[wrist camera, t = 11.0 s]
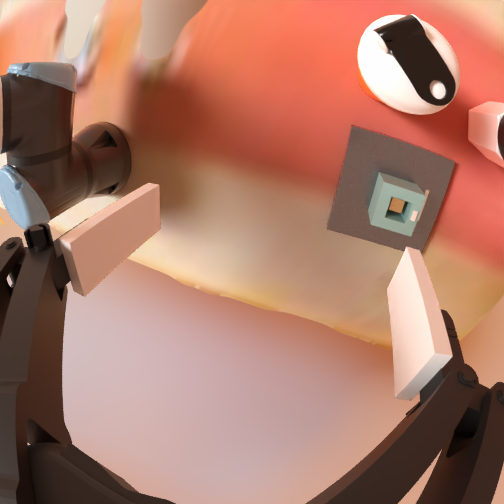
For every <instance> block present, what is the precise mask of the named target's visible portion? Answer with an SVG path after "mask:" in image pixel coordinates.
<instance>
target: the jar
mask: <svg viewBox="0 0 504 504" xmlns="http://www.w3.org/2000/svg"><path fill="white" fill-rule="evenodd" d="M468 140H469V141H470V142H471V143H472V144H473V145H474V146H475V147H476V148H477V149H478V150H479V151H480V152H481V153H482V154H483V155H484V156H485V157H486V158H487V159H489V160H491V161H492V162H494V163H496V164H498V165H499V166H501V167H503V168H504V103H500V102H492V101H488V102H486V103H483V104H481V105H479V106H477V107H474V108H472V109H470V110H469V118H468Z"/></svg>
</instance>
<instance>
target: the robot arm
mask: <svg viewBox="0 0 504 504" xmlns="http://www.w3.org/2000/svg"><path fill="white" fill-rule="evenodd" d="M7 73H8V74H7V75H2V76H0V154H2V153H5V152H6V153H7V165H4V166H3V167H2V168H1V169H0V196H1V199H2V201H3V203H4V206H5V208H6V210H7V211H8V213H9V214H10V216H11V217H12V219H13V220H14V221H15V222H16V223H17V224H18V225H19V226H20V227H21V228H23V229H25V232H24V235H25V239H26V241H27V245H28V247H24V246H23V243H22V239H21V238H20V237H13V238H9V239H8V240H7V241H5V242H4V243H3V244H2V245H1V246H0V504H175V503H173V502H171V501H168V500H166V499H161V498H156V497H153V496H148V495H145V494H141V493H139V492H138V491H136V490H135V489H134V488H133V487H132V486H131V485H129V484H128V483H127V482H126V481H125V480H124V479H123V478H121V477H120V476H118V475H116V474H115V473H113V472H111V471H110V470H108V469H107V468H105V467H104V466H102V465H101V464H100V463H98V462H97V461H95V460H94V459H92V458H91V457H89V456H88V455H86V454H85V453H83V452H82V451H81V450H79V449H78V448H77V447H75V446H74V445H73V444H72V441H71V437H70V435H69V432H68V430H67V428H66V426H65V422H64V414H63V397H62V352H63V351H62V350H63V333H64V320H65V310H66V301H67V293H68V290H67V286H66V284H67V283H68V282H70V281H71V284H72V287H73V290H74V291H75V292H77V293H79V294H81V295H82V296H86V295H87V294H88V293H89V292H90V291H91V290H92V289H94V288H95V287H96V286H97V285H98V284H99V283H100V282H101V281H102V280H103V279H104V278H105V277H106V276H107V275H108V274H110V273H111V272H112V271H113V270H114V269H115V268H116V267H117V266H118V265H119V264H120V263H122V262H123V261H124V260H125V259H126V258H127V257H128V256H130V255H131V254H132V253H133V252H134V251H135V250H136V249H138V248H139V247H140V246H141V245H142V244H143V243H145V242H146V241H147V240H148V239H149V238H150V237H152V236H153V235H154V234H155V233H156V232H157V231H159V230H160V229H161V222H160V185H158V184H153V183H147V184H145V185H143V186H142V187H140V188H138V189H136V190H135V191H133V192H131V193H129V194H128V195H126V196H124V197H122V198H121V199H119V200H117V201H116V202H114V203H112V204H111V205H109V206H108V207H106V208H104V209H103V210H101V211H100V212H98V213H96V214H95V215H93V216H92V217H90V218H88V219H86V220H84V221H83V222H81V223H80V224H79V225H77V226H75V227H74V228H73V229H71V230H69V231H68V232H66V233H65V234H63V235H62V236H61V237H59V238H58V239H56V240H55V241H53V239H52V235H51V231H50V227H49V225H48V224H47V223H49V221H50V220H52V219H53V218H55V217H56V216H58V215H59V214H61V213H63V212H64V211H66V210H68V209H69V208H71V207H73V206H74V205H76V204H78V203H79V202H81V201H83V200H84V199H86V198H94V197H103V196H108V195H111V194H113V193H115V192H117V191H119V190H120V189H121V188H122V187H123V186H124V185H125V184H126V182H127V180H128V178H129V174H130V169H131V156H130V151H129V147H128V144H127V142H126V140H125V138H124V136H123V134H122V133H121V132H120V131H119V130H118V129H117V128H116V127H115V126H113V125H112V124H110V123H106V122H99V123H95V124H91V125H89V126H87V127H85V128H84V129H83V130H81V131H80V132H79V133H77V134H76V135H75V136H74V137H73V138H72V131H73V116H74V104H75V95H76V94H77V90H76V80H77V70H76V68H75V67H74V66H73V65H71V64H67V63H56V62H31V63H15V64H11V65H10V66H9V69H8V70H7ZM8 275H9V276H10V278H11V280H12V283H13V284H12V285H11V287H10V286H9V284H8V282H7V276H8ZM387 297H388V305H389V313H390V323H391V334H392V347H393V362H394V398H397V399H404V400H412V399H413V398H414V397H415V396H416V395H417V394H418V393H419V392H420V402H418V404H416V405H415V406H414V407H413V408H412V409H411V410H410V411H408V412H407V413H406V415H407V416H406V417H405V418H404V419H403V420H402V421H401V422H400V423H399V424H398V425H397V427H396V428H395V429H394V430H393V431H392V432H391V433H390V434H389V435H388V436H387V437H386V438H385V439H384V440H383V441H382V442H381V443H380V444H379V445H378V446H377V447H376V448H375V449H374V450H373V451H372V452H371V453H369V454H368V455H367V456H366V457H365V458H364V459H363V460H362V461H360V462H359V463H358V464H357V465H356V466H355V467H354V468H352V469H351V470H350V471H349V472H348V473H346V474H345V475H344V476H343V477H341V478H340V479H339V480H338V481H336V482H335V483H334V484H332V485H331V486H330V487H328V488H327V489H326V490H324V491H323V492H322V493H320V494H319V495H318V496H316V497H315V498H313V499H312V500H310V501H309V502H307V503H306V504H398V502H399V501H400V500H401V499H402V498H403V497H404V496H405V495H406V494H407V492H409V490H410V489H411V488H412V487H413V486H414V485H415V483H416V482H417V481H418V480H419V478H420V477H421V476H422V475H423V474H424V472H425V471H426V470H427V468H428V467H429V466H430V465H431V463H432V462H433V461H434V459H435V458H436V457H437V455H438V454H439V452H440V451H441V449H442V451H441V453H440V456H439V458H438V460H437V463H436V465H435V467H434V469H433V471H432V474H431V476H430V478H429V480H428V482H427V484H426V486H425V488H424V490H423V492H422V494H421V495H420V497H419V499H418V501H417V503H416V504H491V502H492V499H493V496H494V493H495V490H496V487H497V484H498V481H499V477H500V474H501V470H502V466H503V462H504V383H502V382H497V383H496V384H495V385H494V386H493V387H492V388H491V389H489V388H487V387H485V386H483V385H481V384H479V381H478V377H477V375H476V372H475V371H474V370H473V369H472V368H471V367H470V366H469V365H467V364H465V363H464V360H463V356H462V351H461V348H460V344H459V340H458V339H457V333H456V331H455V326H454V323H453V320H452V318H451V317H450V315H449V314H448V312H447V311H445V310H441V309H440V306H439V303H438V300H437V297H436V294H435V291H434V288H433V285H432V282H431V279H430V276H429V274H428V271H427V268H426V265H425V263H424V260H423V258H422V255H421V253H420V250H417V249H413V248H410V247H406V249H405V251H404V254H403V256H402V258H401V260H400V263H399V265H398V267H397V269H396V271H395V274H394V276H393V278H392V280H391V282H390V284H389V286H388V288H387ZM27 442H28V443H29V444H30V445H27Z"/></svg>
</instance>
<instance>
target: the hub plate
mask: <svg viewBox="0 0 504 504" xmlns="http://www.w3.org/2000/svg"><path fill="white" fill-rule="evenodd" d="M454 165H455V161H453V160H451V159H449V158H447V157H444V156H442V155H440V154H437V153H435V152H432V151H430V150H427V149H425V148H422V147H419V146H417V145H414V144H411V143H408V142H406V141H403V140H400V139H397V138H394V137H391V136H388V135H385V134H381V133H378V132H375V131H372V130H368V129H365V128H361V127H358V126H354V125H351V130H350V134H349V139H348V144H347V148H346V153H345V157H344V161H343V166H342V170H341V174H340V178H339V182H338V186H337V190H336V194H335V198H334V202H333V206H332V210H331V214H330V217H329V221H328V225H327V229H328V230H332V231H336V232H339V233H343V234H346V235H350V236H354V237H357V238H361V239H364V240H368V241H371V242H375V243H378V244H381V245H385V246H388V247H391V248H395V249H398V250H401V251H405V249H406V247H410V248H413V249H417V250H420V253H422V251H423V248H424V246H425V244H426V242H427V239H428V237H429V235H430V232H431V230H432V227H433V225H434V222H435V220H436V217H437V215H438V212H439V209H440V207H441V204H442V201H443V199H444V196H445V193H446V190H447V187H448V184H449V181H450V178H451V175H452V171H453V168H454ZM379 172H381V173H384V174H387V175H390V176H393V177H397V178H400V179H403V180H406V181H408V182H411V183H414V184H417V185H418V186H419V188H420V189H421V190H422V191H423V193H424V194H425V195H426V198H425V201H424V204H423V206H422V209H421V212H420V215H419V217H418V220H417V223H416V225H415V228H414V231H413V233H412V236H411V237H410V236H407V235H403V234H400V233H397V232H394V231H390V230H387V229H384V228H380V227H377V226H374V225H371V224H370V218H369V213H368V209H369V205H370V202H371V199H372V195H373V192H374V188H375V185H376V181H377V178H378V174H379ZM404 203H405V201H404V200H401V199H398V198H395V197H391V200H390V203H389V206H388V209H389V210H392V211H395V212H398V213H401V212H402V209H403V206H404Z"/></svg>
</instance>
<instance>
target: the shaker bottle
mask: <svg viewBox="0 0 504 504" xmlns="http://www.w3.org/2000/svg"><path fill="white" fill-rule="evenodd" d="M357 61H358V72H357V76H358V81H359V84H360V86H361V88H362V89H363V91H364V92H365V93H366V94H367V95H368V96H370V97H371V98H373V99H375V100H377V101H380V102H383V103H385V104H386V105H387V106H389V107H391V108H393V109H395V110H397V111H401V112H404V113H408V114H418V115H425V114H432V113H435V112H438V111H440V110H442V109H443V108H445V107H447V106H448V104H449V103H450V102H451V101H452V100H453V99H454V97H455V95H456V93H457V91H458V87H459V83H460V70H459V64H458V61H457V57H456V55H455V53H454V51H453V49H452V47H451V45H450V44H449V43H448V41H447V40H446V39H445V37H444V36H443V35H442V34H441V33H440V32H439V31H438V30H436V29H435V28H434V27H432V26H431V25H429V24H428V23H426V22H424V21H422V20H420V19H419V18H418V17H417V16H415V15H413V14H410V15H407V16H406V15H389V16H386V17H382V18H380V19H378V20H376V21H375V22H373V23H372V24H371V25H370V26H369V27H368V28H367V29H366V30H365V32H364V34H363V35H362V38H361V39H360V42H359V45H358V50H357Z"/></svg>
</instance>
